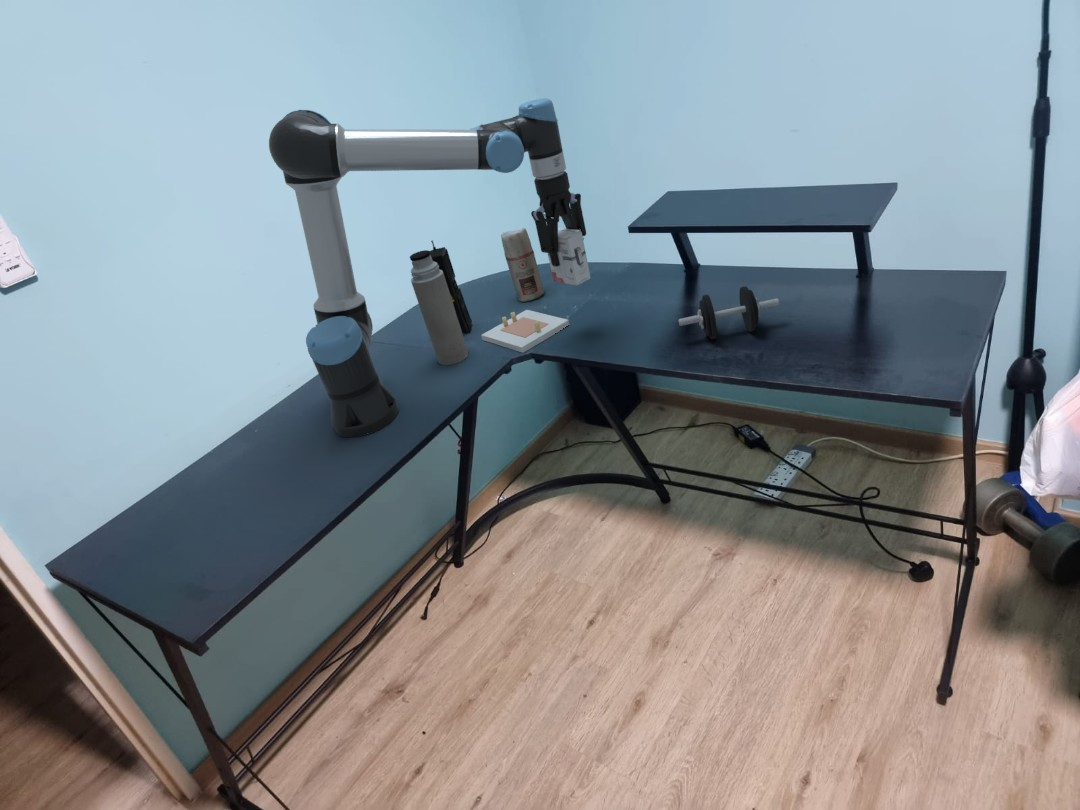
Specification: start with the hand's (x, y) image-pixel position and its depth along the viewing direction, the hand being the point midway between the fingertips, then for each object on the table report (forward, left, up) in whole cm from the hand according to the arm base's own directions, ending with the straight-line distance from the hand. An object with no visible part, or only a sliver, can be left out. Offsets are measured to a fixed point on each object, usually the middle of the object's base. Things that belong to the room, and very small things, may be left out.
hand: (570, 272), depth 168 cm
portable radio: (-14, +35, -16) cm, 41 cm away
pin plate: (-7, +15, -16) cm, 23 cm away
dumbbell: (+13, -34, -16) cm, 40 cm away
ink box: (0, 0, -2) cm, 2 cm away
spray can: (+10, +33, -16) cm, 38 cm away
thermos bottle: (-25, +23, -16) cm, 37 cm away
